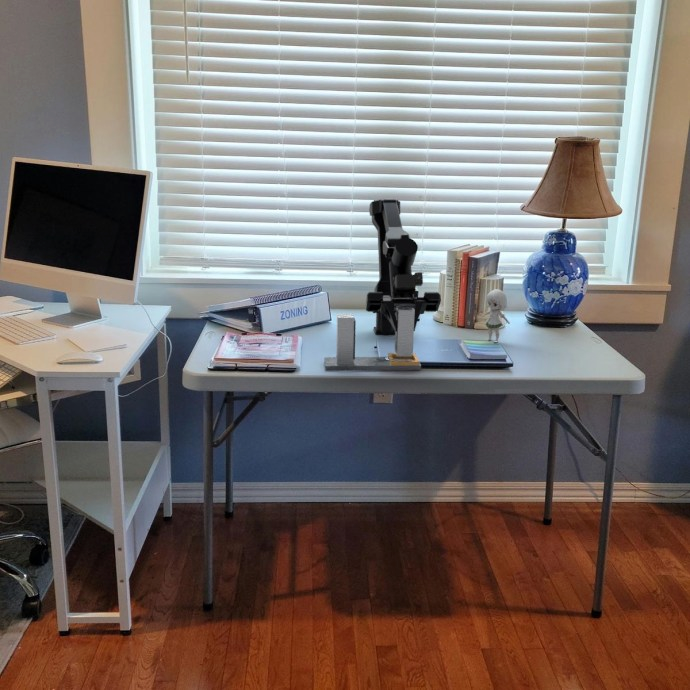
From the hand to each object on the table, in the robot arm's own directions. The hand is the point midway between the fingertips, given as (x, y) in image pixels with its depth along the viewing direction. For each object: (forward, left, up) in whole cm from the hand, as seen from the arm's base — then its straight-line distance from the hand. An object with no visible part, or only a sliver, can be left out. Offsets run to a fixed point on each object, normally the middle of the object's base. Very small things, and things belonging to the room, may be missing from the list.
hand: (405, 330), depth 194 cm
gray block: (-1, 0, -7) cm, 7 cm away
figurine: (-23, +29, -10) cm, 38 cm away
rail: (-1, -8, -10) cm, 13 cm away
